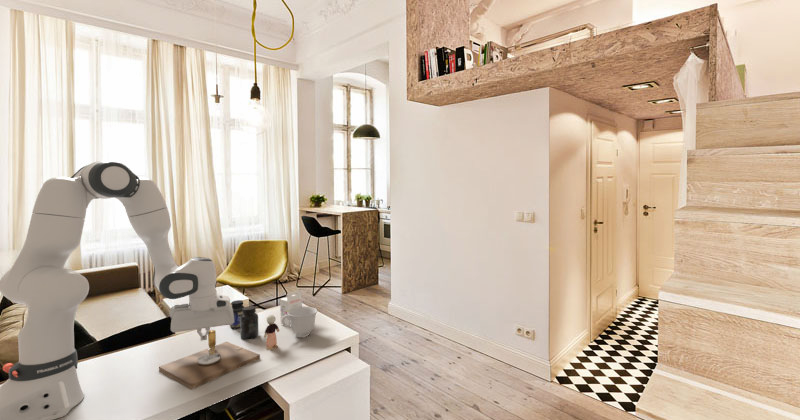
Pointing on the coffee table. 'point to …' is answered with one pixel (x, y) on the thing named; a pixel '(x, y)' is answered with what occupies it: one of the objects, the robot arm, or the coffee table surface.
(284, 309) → the ink cartridge box
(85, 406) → the coffee table surface
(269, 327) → the grandmother figurine
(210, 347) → the lever
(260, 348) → the coffee table surface
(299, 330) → the teacup
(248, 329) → the supplement bottle
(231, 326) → the pill bottle
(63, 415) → the robot arm
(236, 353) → the base plate
